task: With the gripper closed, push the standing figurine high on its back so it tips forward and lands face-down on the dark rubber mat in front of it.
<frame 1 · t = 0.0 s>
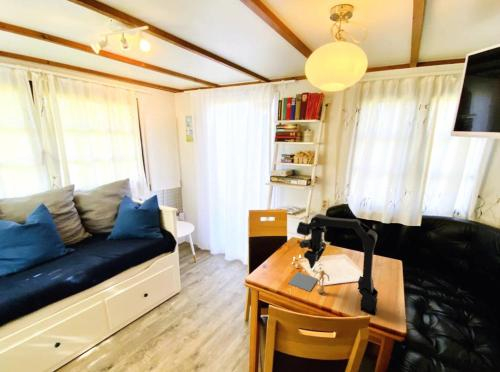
hand: (314, 264, 128), 15 cm above the table, fingers open, 9 cm apart
figurine: (320, 291, 128), on the table
mat: (303, 281, 136), on the table
game piece set: (306, 264, 156), on the table
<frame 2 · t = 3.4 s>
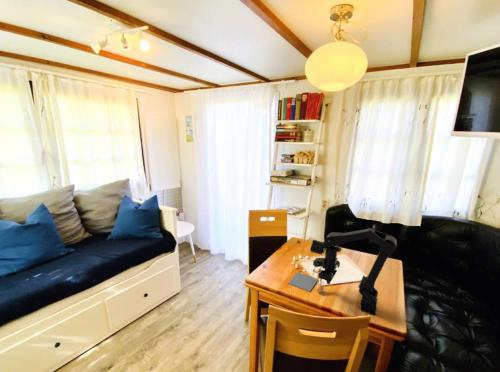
hand: (328, 283, 125), 6 cm above the table, fingers closed
figurine: (320, 291, 128), on the table, touching gripper
everything else where it was.
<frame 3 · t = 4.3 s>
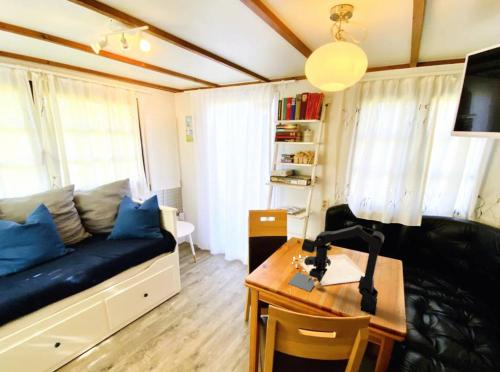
hand: (319, 281, 127), 6 cm above the table, fingers closed
figurine: (319, 289, 129), point 1 cm above the table, touching mat
everything else where it was.
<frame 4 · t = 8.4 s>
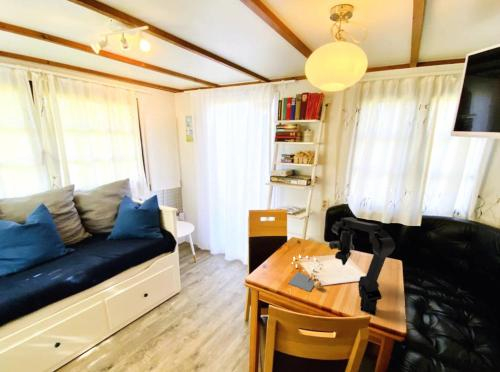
hand: (343, 264, 133), 12 cm above the table, fingers closed
nothing on the table moved.
at the end: figurine tilted 75°; figurine 10.7 cm from the mat (horizontally); figurine point 0.8 cm above the table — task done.
